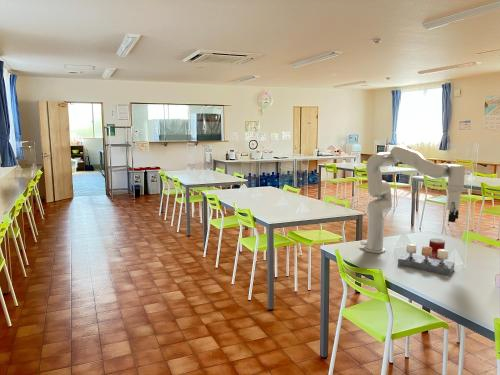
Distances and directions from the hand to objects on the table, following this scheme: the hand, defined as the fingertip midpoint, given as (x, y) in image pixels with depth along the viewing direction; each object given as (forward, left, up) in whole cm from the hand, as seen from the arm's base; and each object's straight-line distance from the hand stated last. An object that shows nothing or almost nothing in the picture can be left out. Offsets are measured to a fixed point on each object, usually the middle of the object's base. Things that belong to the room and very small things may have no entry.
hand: (453, 220), depth 219 cm
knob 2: (-3, -7, -23) cm, 24 cm away
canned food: (-10, +13, -27) cm, 31 cm away
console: (-11, -7, -27) cm, 29 cm away
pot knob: (-11, -7, -23) cm, 26 cm away
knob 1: (-19, -7, -23) cm, 30 cm away
